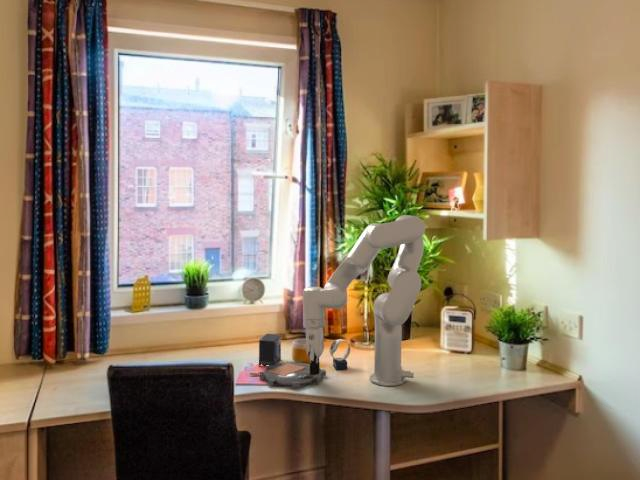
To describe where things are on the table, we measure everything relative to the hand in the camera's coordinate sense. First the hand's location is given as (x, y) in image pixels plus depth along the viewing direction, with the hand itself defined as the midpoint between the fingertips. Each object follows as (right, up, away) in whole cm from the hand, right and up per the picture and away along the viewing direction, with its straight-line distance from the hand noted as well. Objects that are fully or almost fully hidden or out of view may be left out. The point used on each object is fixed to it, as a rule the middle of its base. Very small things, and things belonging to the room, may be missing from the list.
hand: (314, 373), depth 196 cm
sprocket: (-8, -3, +6) cm, 11 cm away
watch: (+9, -2, +18) cm, 21 cm away
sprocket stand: (-13, -3, +7) cm, 16 cm away
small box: (-18, -2, +24) cm, 30 cm away
